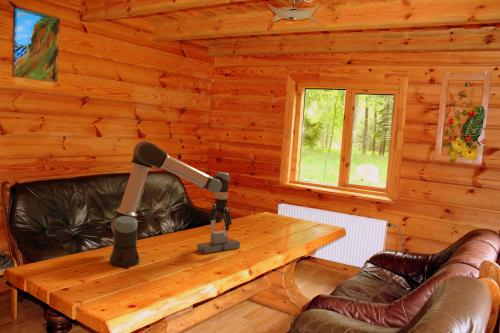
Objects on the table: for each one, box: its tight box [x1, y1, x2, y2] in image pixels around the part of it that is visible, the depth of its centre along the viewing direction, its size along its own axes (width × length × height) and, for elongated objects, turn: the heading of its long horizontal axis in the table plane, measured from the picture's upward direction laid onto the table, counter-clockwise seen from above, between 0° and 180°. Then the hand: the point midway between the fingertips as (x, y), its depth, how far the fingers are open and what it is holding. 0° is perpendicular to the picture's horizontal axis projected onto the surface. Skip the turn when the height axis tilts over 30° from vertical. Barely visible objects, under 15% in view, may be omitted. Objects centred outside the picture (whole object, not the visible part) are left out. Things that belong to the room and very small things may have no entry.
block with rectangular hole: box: [196, 238, 241, 255], centre depth 261 cm, size 26×8×4 cm, turn 130°
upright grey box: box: [209, 230, 229, 245], centre depth 261 cm, size 10×4×10 cm, turn 130°
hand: (219, 233), depth 261 cm, fingers open, 13 cm apart
